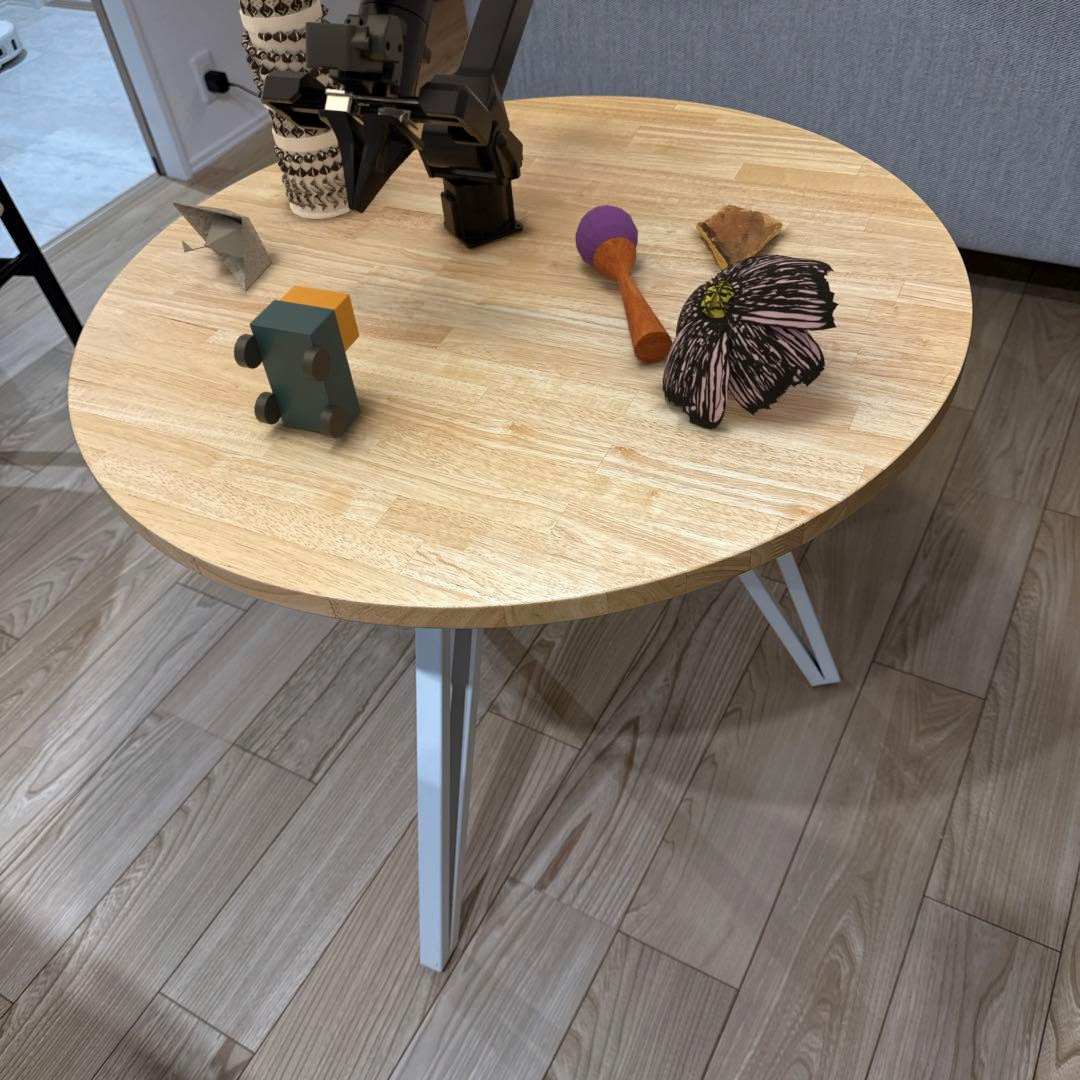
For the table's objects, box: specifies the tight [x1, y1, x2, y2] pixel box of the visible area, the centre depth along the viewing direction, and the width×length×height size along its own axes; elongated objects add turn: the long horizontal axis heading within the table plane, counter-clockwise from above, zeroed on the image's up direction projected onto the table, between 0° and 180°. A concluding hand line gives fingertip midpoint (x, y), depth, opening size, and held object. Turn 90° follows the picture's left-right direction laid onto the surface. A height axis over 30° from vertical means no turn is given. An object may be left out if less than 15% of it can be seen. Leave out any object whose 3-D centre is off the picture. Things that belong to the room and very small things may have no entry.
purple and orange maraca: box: [574, 204, 673, 364], centre depth 91 cm, size 6×6×20 cm
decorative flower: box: [662, 254, 839, 431], centre depth 80 cm, size 15×12×15 cm
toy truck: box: [233, 284, 362, 439], centre depth 81 cm, size 8×7×10 cm
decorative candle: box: [238, 0, 352, 220], centre depth 104 cm, size 9×9×25 cm
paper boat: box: [171, 201, 272, 292], centre depth 102 cm, size 12×6×9 cm
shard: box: [695, 204, 784, 271], centre depth 97 cm, size 11×8×2 cm
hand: (355, 211), depth 82 cm, fingers closed
